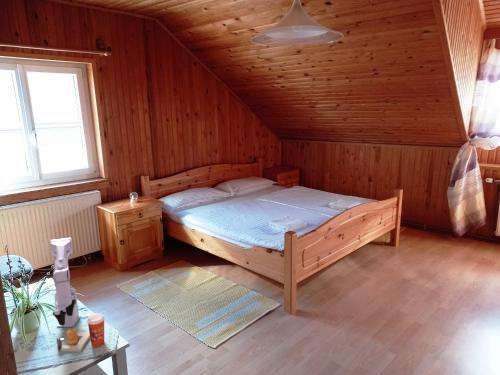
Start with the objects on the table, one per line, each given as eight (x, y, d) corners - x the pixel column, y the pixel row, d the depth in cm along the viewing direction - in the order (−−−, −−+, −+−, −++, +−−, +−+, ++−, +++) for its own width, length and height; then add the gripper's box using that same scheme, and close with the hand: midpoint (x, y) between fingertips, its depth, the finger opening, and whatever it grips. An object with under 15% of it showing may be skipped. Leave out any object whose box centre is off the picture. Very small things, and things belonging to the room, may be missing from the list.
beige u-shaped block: (73, 334, 177) (72, 331, 177) (91, 335, 178) (91, 332, 177) (61, 351, 166) (60, 348, 165) (80, 351, 166) (80, 348, 166)
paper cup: (93, 351, 167) (90, 324, 163) (86, 343, 172) (83, 316, 168) (109, 343, 172) (107, 317, 169) (102, 335, 177) (100, 310, 174)
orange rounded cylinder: (70, 340, 173) (69, 328, 172) (79, 340, 173) (78, 328, 172) (66, 346, 169) (64, 334, 167) (75, 346, 169) (74, 334, 168)
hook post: (58, 347, 169) (57, 337, 167) (65, 347, 169) (64, 337, 167) (56, 349, 167) (55, 340, 166) (63, 349, 167) (62, 340, 166)
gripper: (62, 286, 176) (65, 311, 179) (46, 301, 162) (49, 329, 165) (77, 286, 176) (79, 311, 179) (62, 302, 162) (65, 329, 165)
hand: (66, 320), depth 172 cm, fingers open, 7 cm apart
